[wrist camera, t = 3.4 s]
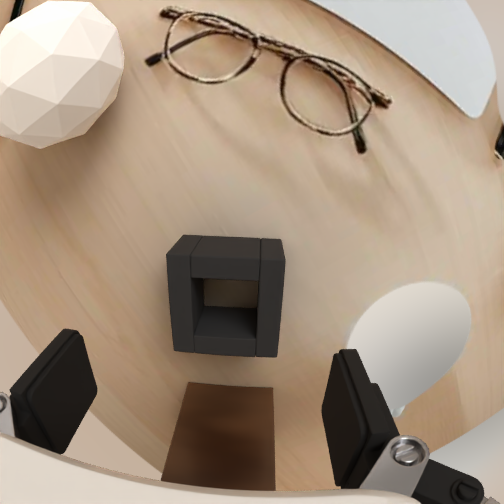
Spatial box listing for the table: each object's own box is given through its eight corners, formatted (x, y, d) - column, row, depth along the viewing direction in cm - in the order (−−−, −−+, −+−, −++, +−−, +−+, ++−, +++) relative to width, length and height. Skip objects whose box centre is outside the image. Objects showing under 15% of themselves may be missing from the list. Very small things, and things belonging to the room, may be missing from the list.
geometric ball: (133, 73, 17) (180, 46, 11) (51, 169, 16) (52, 190, 11) (60, 6, 12) (73, -55, 6) (-28, 102, 11) (-69, 87, 6)
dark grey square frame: (281, 238, 18) (285, 259, 14) (275, 325, 19) (277, 358, 16) (182, 234, 18) (165, 253, 14) (186, 320, 19) (173, 351, 16)
